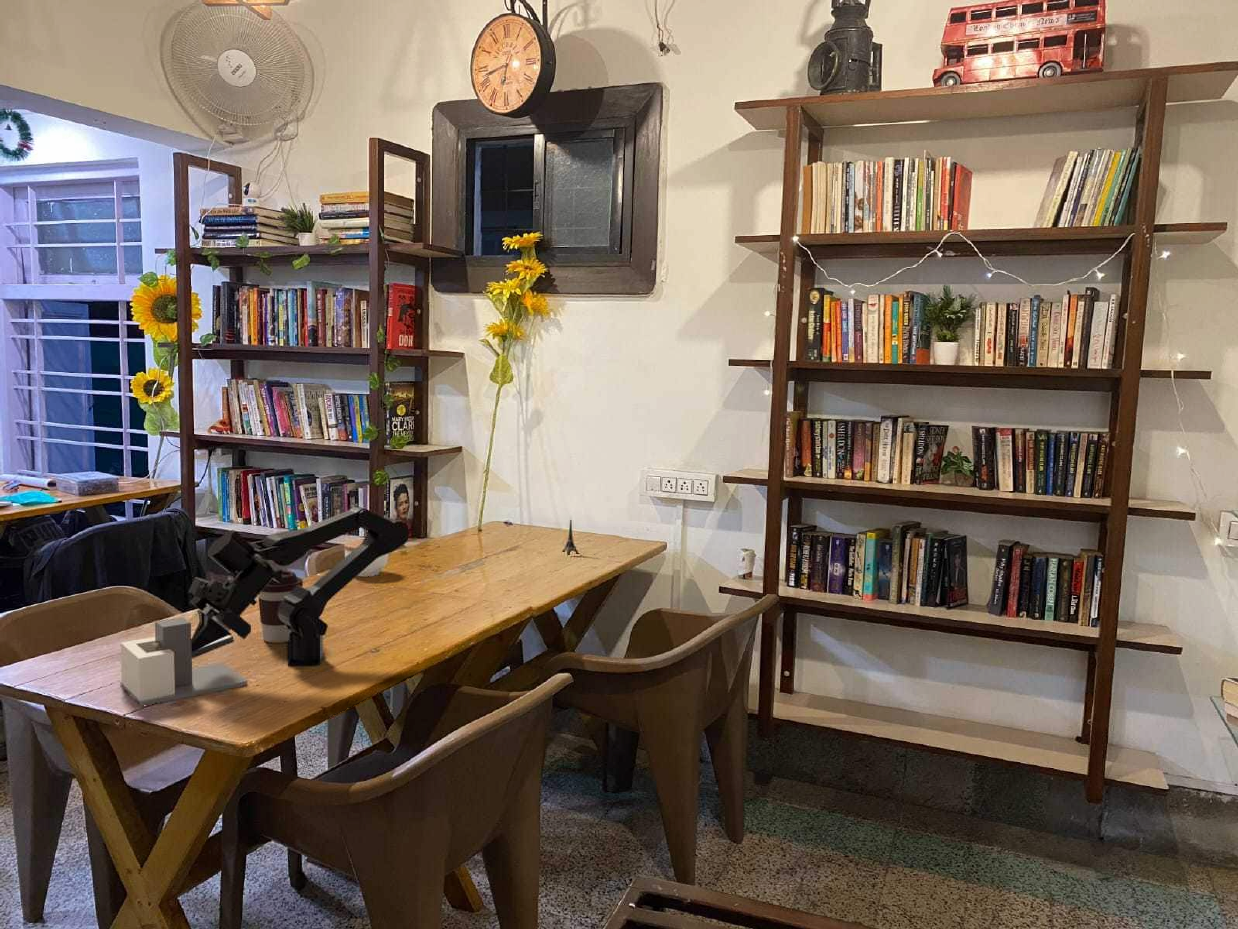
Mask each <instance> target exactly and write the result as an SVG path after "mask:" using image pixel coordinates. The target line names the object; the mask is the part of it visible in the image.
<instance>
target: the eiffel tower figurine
mask: <svg viewBox="0 0 1238 929" xmlns="http://www.w3.org/2000/svg"><path fill="white" fill-rule="evenodd" d="M572 522H573V521H572V519H570V520H569V528H568V531H569V532H568V539H567V541H566V544H565V545H564V548H563V549H562V552H565V551H567V555H570V552H571V551H574V552H576V554H580V553H578V552H579V551H578V548H577V546H575V542H574V538H573V526H572V525H573V523H572Z"/></svg>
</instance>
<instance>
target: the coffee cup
mask: <svg viewBox="0 0 1238 929" xmlns="http://www.w3.org/2000/svg"><path fill="white" fill-rule="evenodd" d="M282 577H283V583H282V584H280V583H278V582H276V581H274V580H273V579H272V580H271V581H270V582H269V583H268V585H267V586H266V587H265V588H264V589H263V590H262V591H261V592H260V594H259V595H258V607H259V618H260V623H261V629H262V638H263V641H265V642H268V643H272V644H282V643H287V640H288V639H289V634H290V633H291V630H288V629H287V627H286V624H285V623H283V622H282V621H281V620H280V619H279V617H278V606H279V604H280V603H281V602H282V601H283V600H284V599H283V598H282V597H283V596H286V595H288V594H289V593H290V592H291V591H292V590H293V589H294V588H295V587H296V586H297V585H299V586H301V587H303V586H304V584H303V583H304V580H303V579H302V578H301V577H298V576H297V575H296V573H295V572H294V571H291V570H290V571H289V570H283V572H282Z"/></svg>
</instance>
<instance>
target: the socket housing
mask: <svg viewBox="0 0 1238 929" xmlns="http://www.w3.org/2000/svg"><path fill="white" fill-rule="evenodd" d="M154 643H155V636H153V637H147V638H141V639H140V638H139V639H134V640H127V641H122V642H120V664H121V671H120V672H121V681H120V687H121V686H122V687H123V688H125V690H126V691H128V693H129V694H130V695H132V696H133V698H135V700H136V701H137V702H139V704H140V705H142V706H144V705H149V706H153V705H152V704H154V705H156V704H155V703H159V704H161V703H160V702H163V703H168V702H172V701H171V700H173V701H178V700H182V698H183V699H187V698H191V697H196V696H201V695H206V694H211V693H216V692H219V691H224V690H230V689H234V688H239V687H243V686H248V680H247V679H245V678H243V676H241V674H238V673H237V672H235V671H234V670H233V669H231V668H230V667H229V666H227V665H226V664H224V663H223V662H217V663H212V664H207V665H201V666H196V667H192V684H188V685H183V686H178V687H175V677H174V652H173V651H171V650H170V649H167V650H161V651H156V648H154V647H153V644H154ZM122 687H121V688H122ZM123 688H122V689H123ZM125 690H124V691H125ZM126 691H125V692H126ZM128 693H127V694H128ZM129 694H128V695H129ZM130 695H129V696H130ZM133 698H132V699H133ZM177 699H178V700H177ZM135 700H134V701H135ZM136 701H135V702H136ZM167 701H168V702H167ZM137 702H136V703H137ZM139 704H138V705H139ZM140 705H139V706H140ZM144 707H145V706H144Z"/></svg>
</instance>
